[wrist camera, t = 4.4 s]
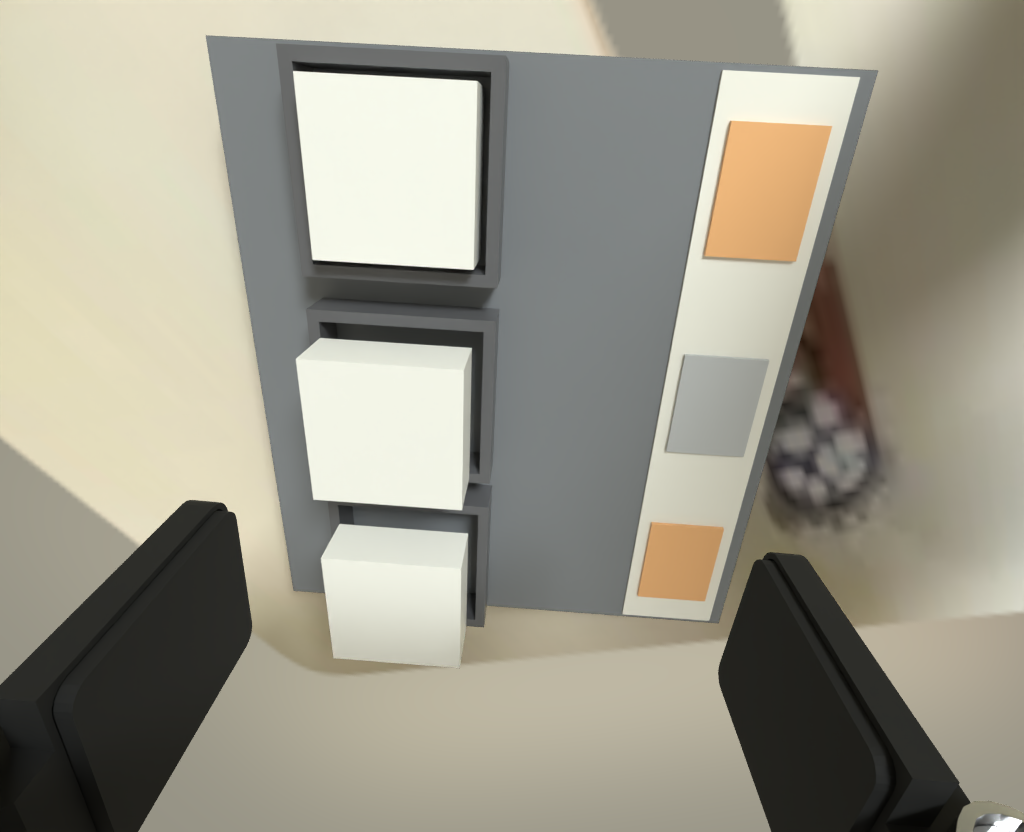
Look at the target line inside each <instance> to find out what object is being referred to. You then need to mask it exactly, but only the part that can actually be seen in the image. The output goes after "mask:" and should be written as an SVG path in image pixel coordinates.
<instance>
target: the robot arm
mask: <svg viewBox="0 0 1024 832" xmlns="http://www.w3.org/2000/svg"><path fill="white" fill-rule="evenodd" d="M251 631H252V620H251V613H250V606H249V600H248V593H247V586H246V580H245V573H244V566H243V559H242V553H241V546H240V539H239V533H238V526H237V519H236V516H235V514H234V513H233V512H228V510H227V507H226V506H225V504H223V503H219V502H208V501H196V500H189V501H186V502H185V503H183V504H182V505H181V506H180V507H179V508H178V509H177V510H176V511H175V512H174V513H173V514H172V515H171V516H170V517H169V518H168V519H167V520H166V521H165V522H164V523H163V524H162V525H161V526H160V527H159V528H158V529H157V530H156V531H155V532H154V533H153V534H152V535H151V536H150V537H149V538H148V539H147V540H146V541H145V542H144V543H143V544H142V545H141V546H140V547H139V548H138V549H137V550H136V551H135V552H134V553H133V554H132V555H131V556H130V557H129V558H128V559H127V560H126V561H125V562H124V563H123V564H122V565H121V566H120V567H119V568H118V569H117V570H116V571H115V572H114V573H113V574H112V575H111V576H110V577H109V578H108V579H107V580H106V581H105V582H104V583H103V584H102V585H101V586H100V587H99V588H98V589H97V590H95V592H93V593H92V594H91V596H89V597H88V599H86V600H85V601H84V602H83V604H81V605H80V607H79V608H77V609H76V610H75V611H74V612H73V613H72V614H71V615H70V616H69V618H67V619H66V620H65V621H64V622H63V623H62V624H61V625H60V626H59V627H58V628H57V629H56V630H55V631H54V632H53V633H52V634H51V635H50V636H49V637H48V638H47V639H46V640H45V641H44V642H43V643H42V644H41V645H40V646H39V647H38V648H37V649H36V650H35V651H34V652H33V653H32V654H31V655H30V656H29V657H28V658H27V659H26V660H25V661H24V662H23V663H22V664H21V665H20V666H19V667H18V668H17V669H16V670H15V671H14V672H13V673H12V674H11V675H10V676H9V677H8V678H7V679H6V680H5V681H4V682H3V683H2V684H1V685H0V832H138V831H139V829H140V827H141V825H142V824H143V822H144V821H145V818H146V817H147V815H148V814H149V812H150V810H151V809H152V807H153V805H154V803H155V802H156V800H157V798H158V796H159V795H160V793H161V791H162V790H163V788H164V786H165V785H166V783H167V781H168V779H169V777H170V776H171V774H172V773H173V771H174V769H175V767H176V766H177V764H178V762H179V761H180V759H181V757H182V756H183V754H184V752H185V750H186V749H187V747H188V745H189V743H190V742H191V740H192V738H193V737H194V735H195V733H196V732H197V730H198V728H199V726H200V725H201V723H202V721H203V720H204V718H205V716H206V714H207V713H208V711H209V709H210V707H211V706H212V704H213V702H214V701H215V699H216V697H217V696H218V694H219V692H220V690H221V689H222V687H223V685H224V684H225V682H226V680H227V678H228V677H229V675H230V673H231V672H232V670H233V668H234V667H235V665H236V663H237V661H238V660H239V658H240V656H241V655H242V653H243V651H244V649H245V648H246V646H247V644H248V642H249V639H250V636H251ZM718 675H719V684H720V687H721V691H722V693H723V696H724V699H725V702H726V704H727V707H728V710H729V713H730V716H731V718H732V722H733V724H734V727H735V730H736V733H737V736H738V738H739V741H740V744H741V747H742V750H743V753H744V756H745V758H746V761H747V764H748V767H749V769H750V772H751V775H752V778H753V781H754V783H755V786H756V789H757V792H758V795H759V798H760V801H761V803H762V806H763V809H764V812H765V815H766V817H767V820H768V823H769V826H770V829H771V832H1024V813H1022V812H1020V811H1018V810H1016V809H1014V808H1011V807H1009V806H1005V805H1002V804H999V803H995V802H992V801H974V802H972V803H970V801H969V799H968V798H967V796H966V795H965V794H964V792H963V791H962V789H961V788H960V786H959V781H958V780H957V779H956V777H955V775H954V774H953V772H952V771H951V770H950V768H949V767H948V765H947V764H946V762H945V761H944V759H943V758H942V756H941V755H940V753H939V752H938V750H937V749H936V748H935V746H934V745H933V743H932V742H931V740H930V739H929V737H928V736H927V734H926V733H925V731H924V730H923V728H922V727H921V726H920V724H919V723H918V721H917V720H916V718H915V717H914V716H913V714H912V712H911V711H910V709H909V708H908V707H907V705H906V704H905V702H904V701H903V699H902V698H901V696H900V695H899V693H898V692H897V690H896V689H895V687H894V686H893V685H892V683H891V682H890V680H889V679H888V677H887V676H886V674H885V673H884V671H883V670H882V668H881V667H880V666H879V664H878V663H877V661H876V660H875V658H874V657H873V655H872V654H871V652H870V651H869V649H868V648H867V647H866V645H865V644H864V642H863V641H862V639H861V638H860V636H859V635H858V633H857V632H856V630H855V629H854V627H853V626H852V624H851V623H850V621H849V620H848V619H847V617H846V616H845V614H844V613H843V611H842V610H841V608H840V607H839V605H838V604H837V602H836V601H835V599H834V598H833V597H832V595H831V594H830V592H829V591H828V589H827V588H826V586H825V585H824V583H823V582H822V580H821V579H820V577H819V576H818V575H817V573H816V572H815V570H814V569H813V567H812V566H811V564H810V563H809V561H808V560H807V559H806V558H805V557H804V556H802V555H795V554H784V553H773V552H770V553H767V554H766V555H765V556H764V558H763V560H756V561H755V562H754V564H753V567H752V570H751V573H750V576H749V579H748V582H747V585H746V588H745V591H744V593H743V596H742V599H741V602H740V605H739V608H738V611H737V614H736V617H735V620H734V623H733V626H732V629H731V632H730V635H729V638H728V641H727V644H726V647H725V650H724V653H723V656H722V659H721V662H720V665H719V672H718Z"/></svg>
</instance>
